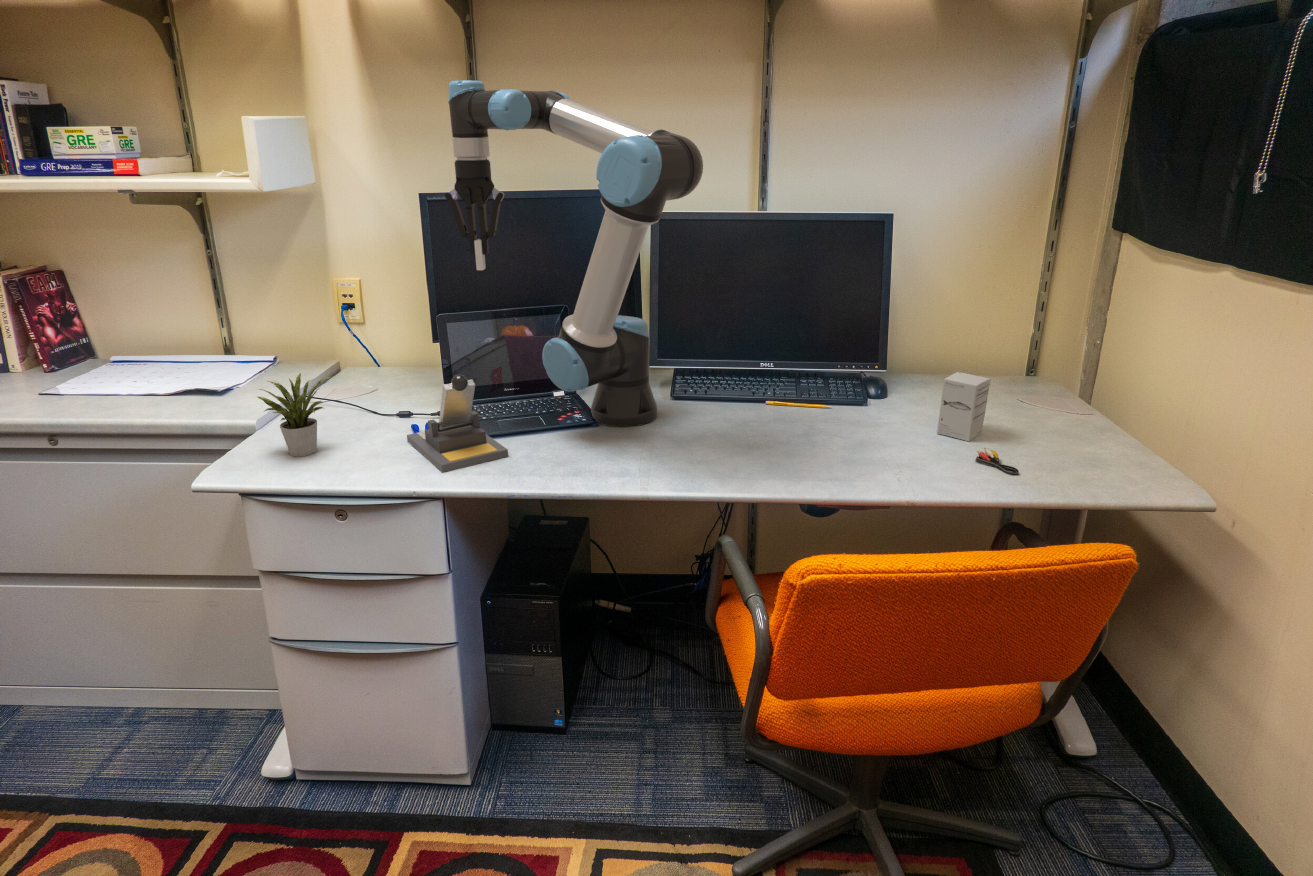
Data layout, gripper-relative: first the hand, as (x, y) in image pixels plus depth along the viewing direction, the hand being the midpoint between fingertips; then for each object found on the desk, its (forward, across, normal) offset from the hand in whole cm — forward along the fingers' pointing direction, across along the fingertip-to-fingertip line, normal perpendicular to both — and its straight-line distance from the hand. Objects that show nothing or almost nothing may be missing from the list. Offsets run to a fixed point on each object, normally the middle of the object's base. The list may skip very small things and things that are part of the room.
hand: (481, 269), depth 185 cm
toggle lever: (+27, +2, +28) cm, 39 cm away
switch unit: (+32, +2, +28) cm, 43 cm away
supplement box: (+33, -105, +20) cm, 112 cm away
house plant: (+33, +33, +28) cm, 54 cm away
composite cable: (+33, -106, +38) cm, 117 cm away
